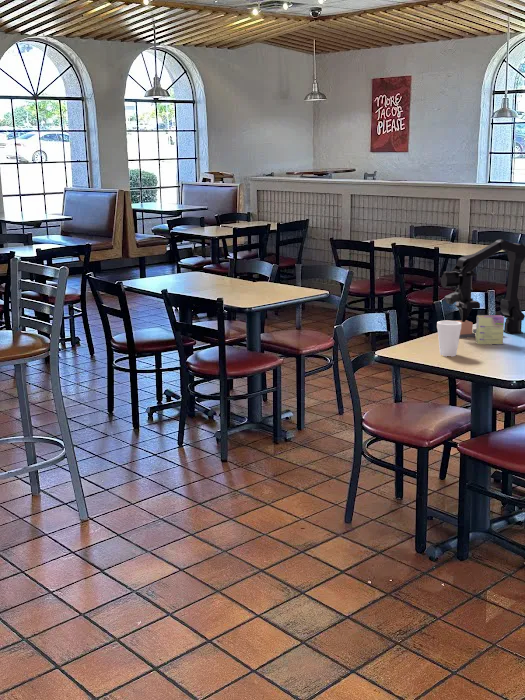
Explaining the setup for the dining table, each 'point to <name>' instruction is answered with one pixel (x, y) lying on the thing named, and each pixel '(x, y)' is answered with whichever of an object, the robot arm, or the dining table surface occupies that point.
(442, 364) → the dining table surface
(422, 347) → the dining table surface
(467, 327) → the terracotta block
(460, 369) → the dining table surface
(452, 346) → the foam cup
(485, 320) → the box
